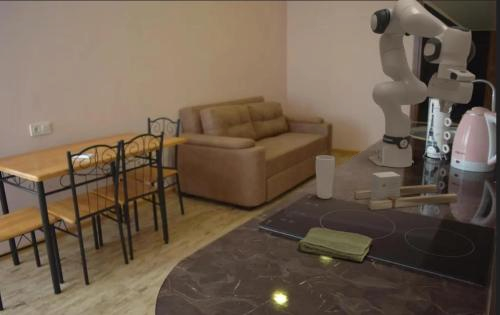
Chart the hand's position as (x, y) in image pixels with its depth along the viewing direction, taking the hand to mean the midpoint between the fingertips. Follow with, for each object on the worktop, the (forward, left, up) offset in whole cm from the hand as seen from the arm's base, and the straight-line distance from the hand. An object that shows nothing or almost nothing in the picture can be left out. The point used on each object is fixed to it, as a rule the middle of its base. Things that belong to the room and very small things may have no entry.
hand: (443, 112), depth 145 cm
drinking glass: (-2, -45, -30) cm, 54 cm away
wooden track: (+8, -19, -29) cm, 36 cm away
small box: (+9, -27, -30) cm, 41 cm away
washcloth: (+37, -57, -30) cm, 74 cm away
